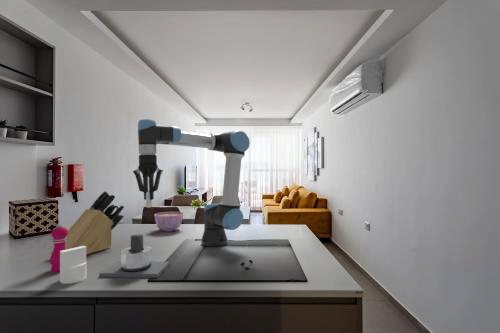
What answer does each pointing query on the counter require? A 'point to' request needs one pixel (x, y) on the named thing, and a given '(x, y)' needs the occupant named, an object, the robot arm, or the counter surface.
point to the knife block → (95, 226)
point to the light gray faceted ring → (136, 259)
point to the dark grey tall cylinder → (136, 243)
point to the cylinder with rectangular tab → (73, 265)
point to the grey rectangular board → (151, 272)
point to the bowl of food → (168, 220)
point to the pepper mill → (58, 246)
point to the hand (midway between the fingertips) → (149, 207)
